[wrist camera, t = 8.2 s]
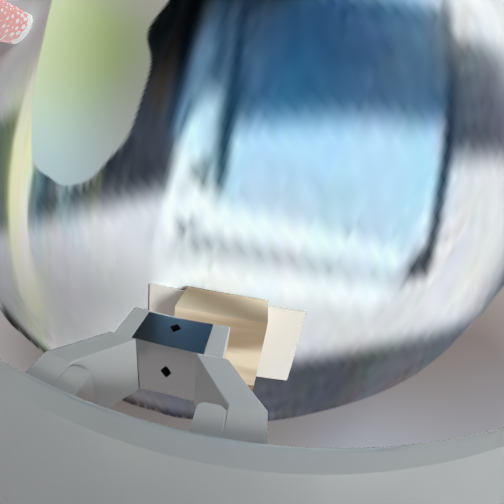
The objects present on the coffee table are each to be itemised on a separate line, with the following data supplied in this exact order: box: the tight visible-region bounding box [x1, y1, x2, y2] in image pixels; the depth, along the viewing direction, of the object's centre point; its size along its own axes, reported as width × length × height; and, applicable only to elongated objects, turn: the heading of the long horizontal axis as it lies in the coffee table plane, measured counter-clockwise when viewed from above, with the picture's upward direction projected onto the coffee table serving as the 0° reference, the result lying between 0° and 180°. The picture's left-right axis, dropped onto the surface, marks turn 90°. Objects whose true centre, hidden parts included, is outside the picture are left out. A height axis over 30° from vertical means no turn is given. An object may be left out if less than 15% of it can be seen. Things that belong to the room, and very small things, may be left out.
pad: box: [149, 283, 306, 380], centre depth 31 cm, size 9×16×1 cm, turn 81°
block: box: [174, 286, 268, 391], centre depth 29 cm, size 4×8×8 cm
